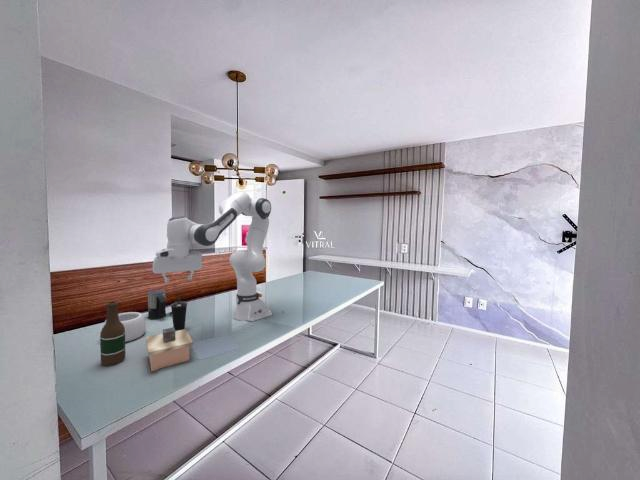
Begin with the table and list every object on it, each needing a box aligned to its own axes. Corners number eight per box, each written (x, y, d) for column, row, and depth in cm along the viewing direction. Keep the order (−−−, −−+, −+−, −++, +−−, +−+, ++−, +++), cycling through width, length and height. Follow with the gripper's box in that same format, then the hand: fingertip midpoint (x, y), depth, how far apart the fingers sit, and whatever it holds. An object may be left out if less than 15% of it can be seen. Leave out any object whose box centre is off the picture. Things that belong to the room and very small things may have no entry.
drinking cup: (180, 334, 128) (180, 294, 126) (167, 332, 129) (166, 293, 128) (190, 327, 135) (190, 290, 134) (178, 326, 137) (178, 289, 135)
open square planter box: (183, 348, 114) (183, 332, 114) (189, 361, 104) (189, 344, 103) (148, 356, 106) (148, 340, 106) (151, 371, 96) (151, 353, 95)
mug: (110, 331, 127) (110, 312, 127) (149, 328, 133) (149, 309, 133) (90, 353, 107) (89, 330, 107) (137, 347, 113) (136, 325, 113)
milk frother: (143, 318, 146) (143, 292, 145) (168, 309, 161) (168, 286, 160) (161, 322, 141) (161, 296, 140) (185, 313, 156) (185, 289, 155)
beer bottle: (127, 361, 102) (126, 302, 101) (102, 369, 97) (101, 307, 95) (123, 354, 107) (122, 298, 106) (99, 361, 102) (97, 302, 100)
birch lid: (185, 331, 115) (185, 320, 115) (193, 344, 103) (193, 332, 103) (145, 339, 106) (145, 327, 106) (148, 355, 94) (148, 342, 94)
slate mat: (227, 335, 128) (227, 334, 128) (239, 349, 114) (239, 348, 114) (190, 344, 118) (190, 343, 118) (198, 361, 104) (198, 360, 104)
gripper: (200, 249, 127) (201, 277, 128) (151, 252, 114) (152, 282, 115) (203, 251, 122) (204, 279, 123) (153, 253, 109) (153, 285, 110)
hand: (178, 281), depth 119 cm, fingers open, 8 cm apart
